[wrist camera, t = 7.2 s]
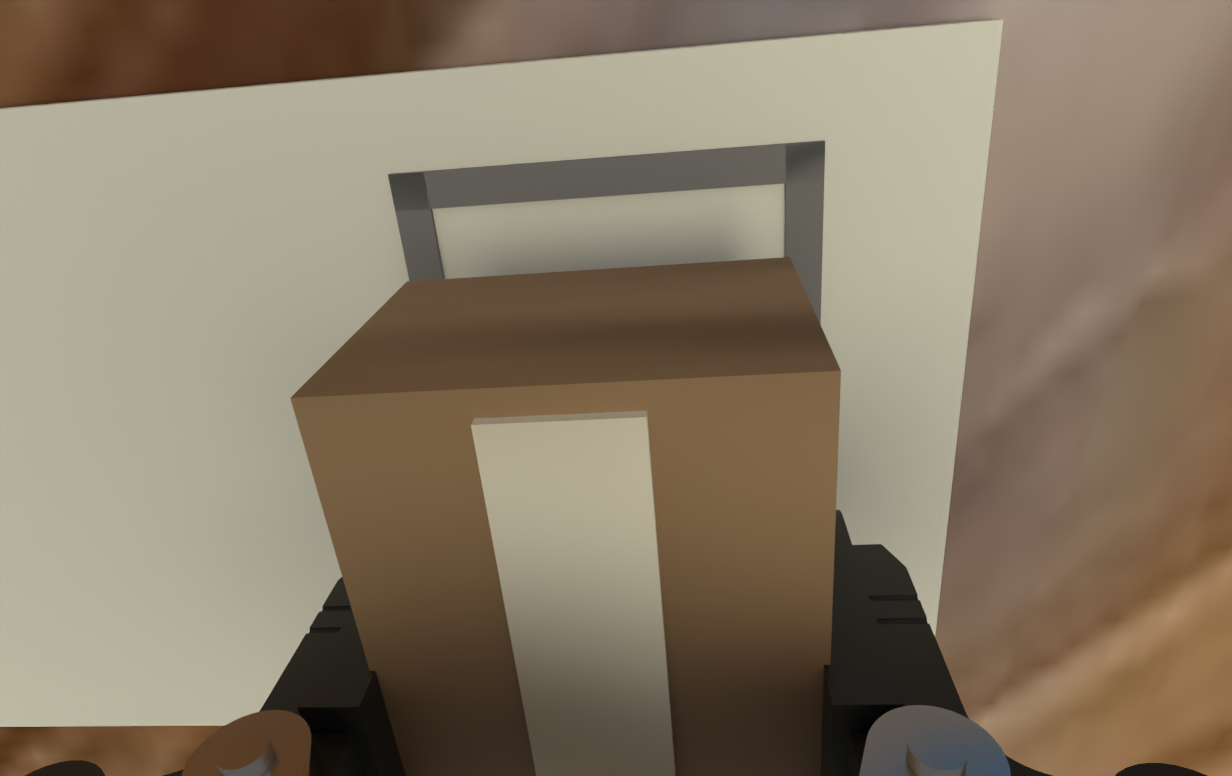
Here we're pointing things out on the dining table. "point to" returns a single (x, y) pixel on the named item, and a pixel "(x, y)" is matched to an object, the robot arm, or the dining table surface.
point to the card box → (589, 518)
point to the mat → (415, 251)
